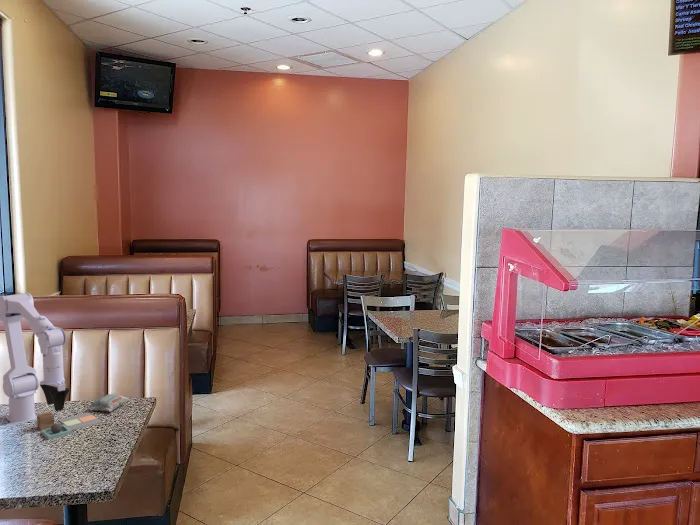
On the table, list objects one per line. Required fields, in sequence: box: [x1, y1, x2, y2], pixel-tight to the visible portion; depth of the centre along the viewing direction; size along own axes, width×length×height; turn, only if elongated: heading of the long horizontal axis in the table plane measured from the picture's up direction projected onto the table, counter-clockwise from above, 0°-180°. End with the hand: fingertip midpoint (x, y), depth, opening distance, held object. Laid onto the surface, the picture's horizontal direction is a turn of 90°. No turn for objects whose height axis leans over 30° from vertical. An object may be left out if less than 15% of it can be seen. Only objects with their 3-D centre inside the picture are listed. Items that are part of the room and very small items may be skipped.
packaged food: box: [89, 393, 130, 413], centre depth 203 cm, size 9×12×5 cm
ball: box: [51, 423, 62, 434], centre depth 180 cm, size 3×3×3 cm
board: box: [58, 412, 103, 431], centre depth 190 cm, size 12×10×1 cm
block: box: [36, 411, 55, 431], centre depth 185 cm, size 4×4×5 cm
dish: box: [40, 424, 73, 440], centre depth 180 cm, size 7×7×2 cm
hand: (55, 407), depth 179 cm, fingers open, 7 cm apart
